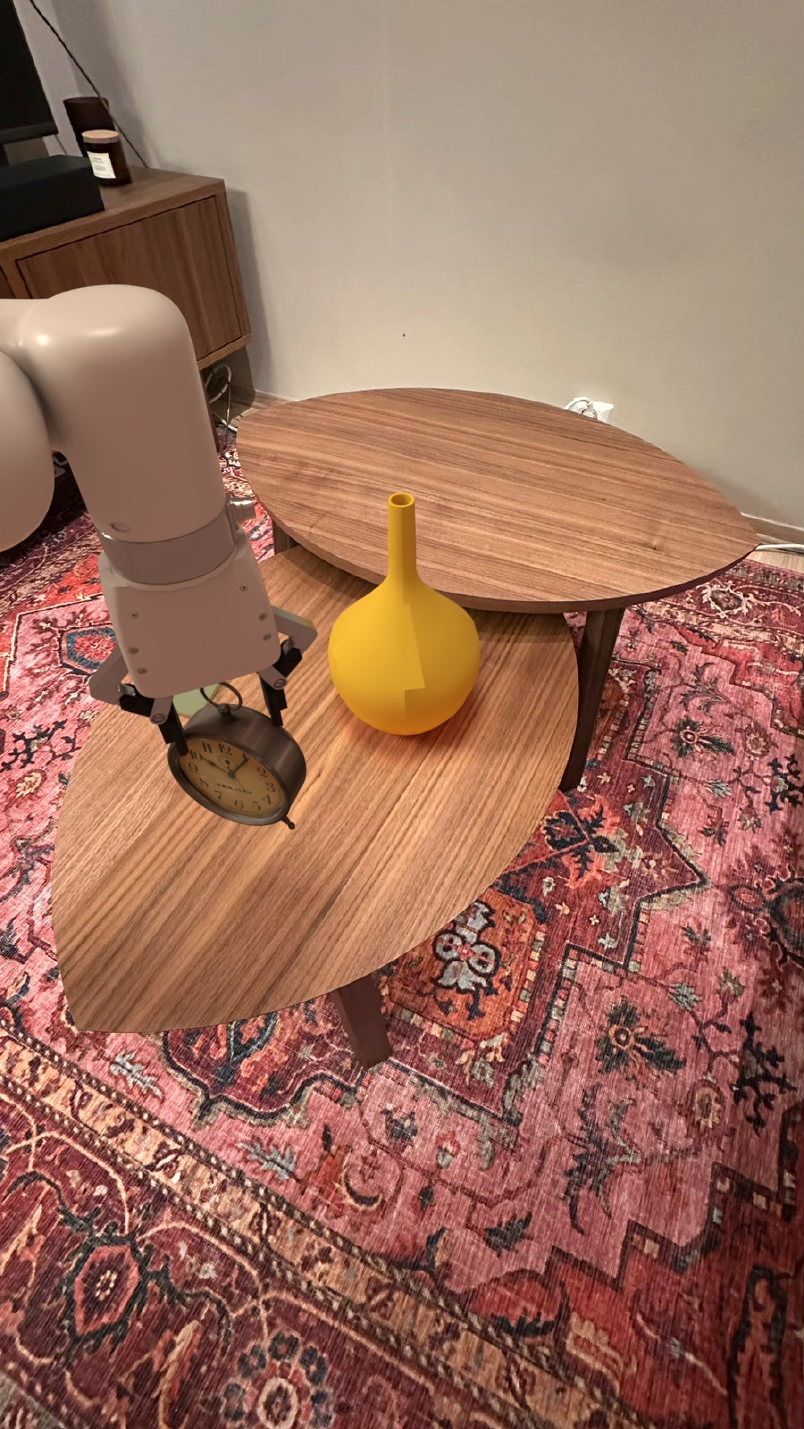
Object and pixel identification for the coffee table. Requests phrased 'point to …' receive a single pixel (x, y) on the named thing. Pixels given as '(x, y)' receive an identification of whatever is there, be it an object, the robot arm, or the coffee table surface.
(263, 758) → the alarm clock
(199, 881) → the coffee table surface
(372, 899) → the coffee table surface
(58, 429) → the robot arm
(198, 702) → the green rectangular slab
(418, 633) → the vase
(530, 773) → the coffee table surface
